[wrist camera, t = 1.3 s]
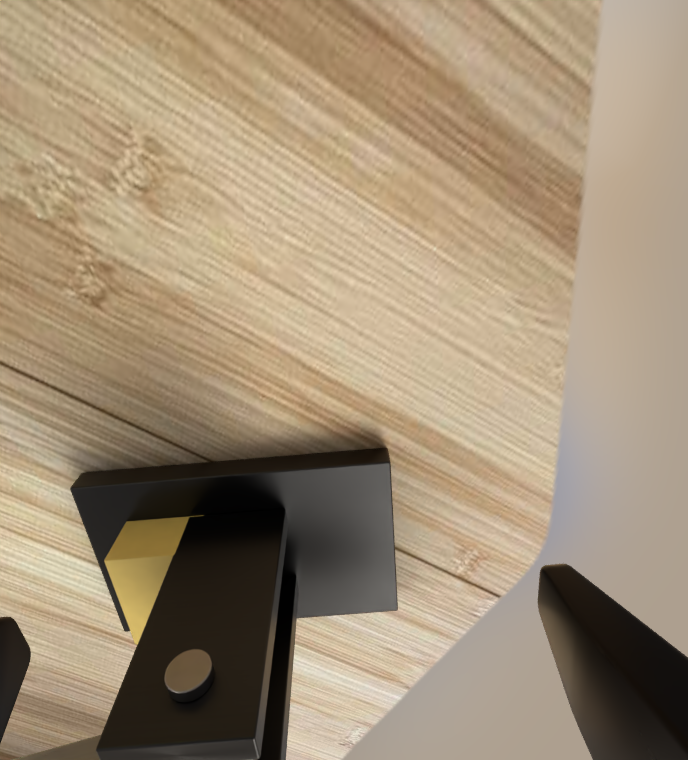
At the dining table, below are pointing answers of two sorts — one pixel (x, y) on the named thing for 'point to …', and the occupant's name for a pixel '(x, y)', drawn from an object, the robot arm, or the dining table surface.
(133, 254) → the dining table surface
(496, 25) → the dining table surface
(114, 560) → the butter
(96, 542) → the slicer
